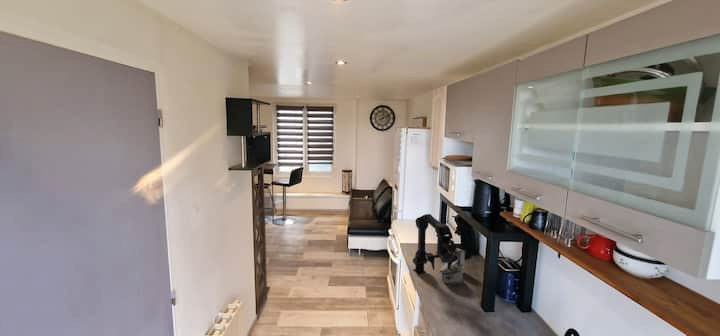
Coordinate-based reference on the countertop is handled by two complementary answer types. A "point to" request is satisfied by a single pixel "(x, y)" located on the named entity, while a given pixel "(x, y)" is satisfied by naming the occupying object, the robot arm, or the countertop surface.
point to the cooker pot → (452, 277)
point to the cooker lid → (446, 266)
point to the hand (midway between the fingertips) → (440, 269)
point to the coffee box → (459, 260)
